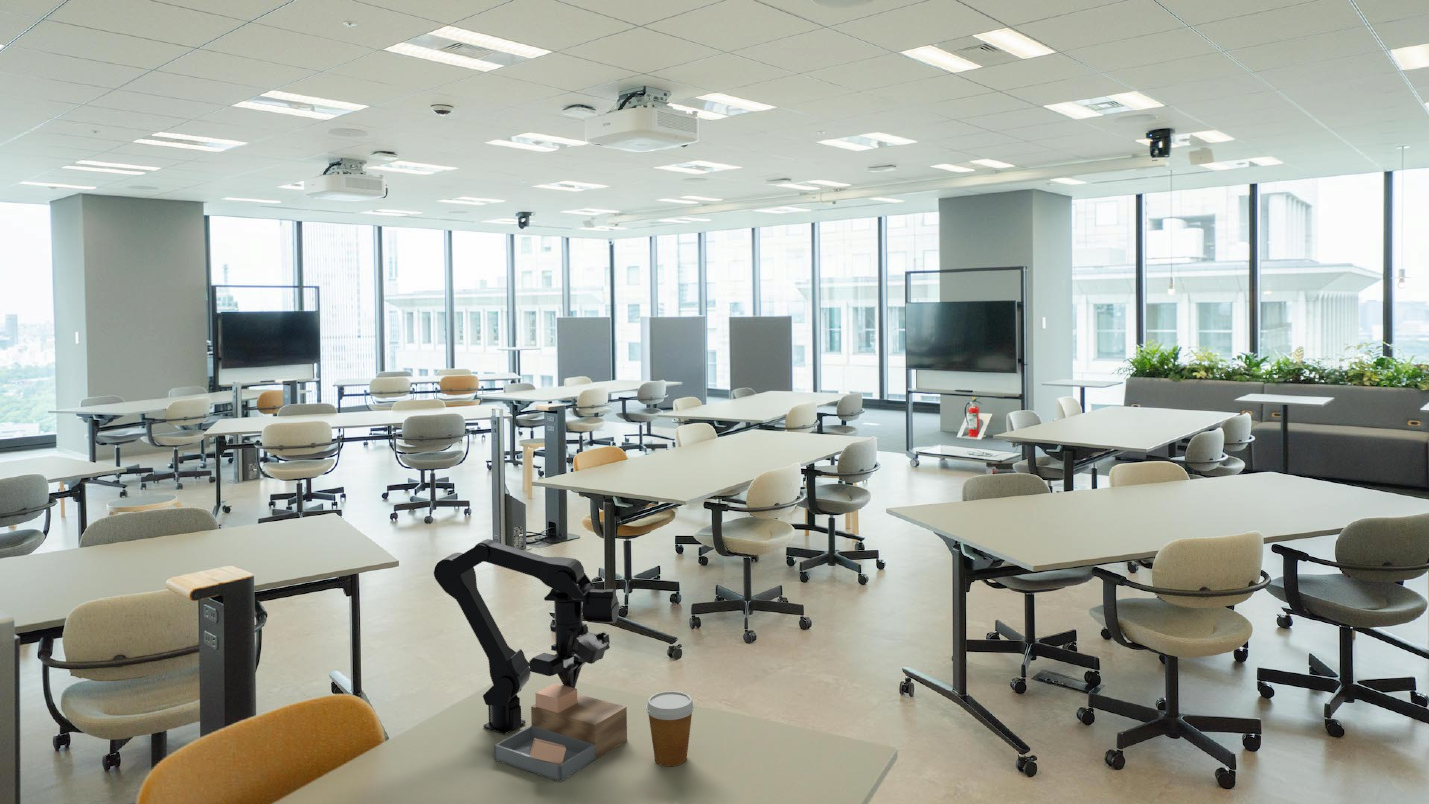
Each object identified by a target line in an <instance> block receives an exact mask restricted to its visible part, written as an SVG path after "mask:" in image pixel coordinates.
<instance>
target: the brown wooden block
mask: <svg viewBox="0 0 1429 804" xmlns="http://www.w3.org/2000/svg"><path fill="white" fill-rule="evenodd" d="M627 708H628V706H625V705H621V704H619V703H618V704H617V703H613V702H610V701H606V700H602V699H599V698H594V697H591V696H588V695H583V694H581V693H577V703H576V704H574V705H572V706H571V707H569V708H567V709H565V710H563V711H561V712H559V713H555V712H552V711H548V710H545V709H541V708H538V707H536V703H535V704H534V705H531V706H530V714H531V725H532V726H535V727H539V728H542V729H545V730H549V731H552V732H555V733H559V734H562V735H565V736H569V737H572V738H575V739H579V740H582V741H585V742H588V743H592V744H595V745H596V760H598V759H599V758H600V757H602V756H604V755H605V754H607V753H608V752H610V751H612V750H613V749H615V748H616V747H619V746H620V745H622V744H623V743H624V742H626V741H627V740H628V717H627V716H628V714H627V712H628V710H627Z"/></svg>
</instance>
